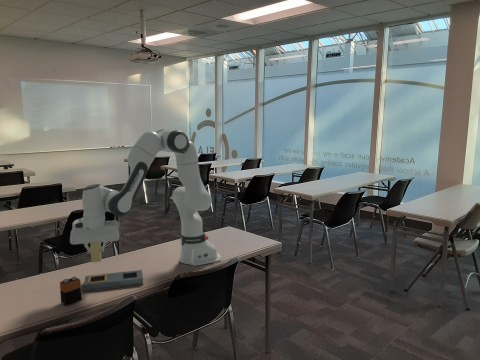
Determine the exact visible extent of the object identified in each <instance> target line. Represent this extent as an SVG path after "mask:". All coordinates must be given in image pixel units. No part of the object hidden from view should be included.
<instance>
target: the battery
mask: <svg viewBox="0 0 480 360" xmlns="http://www.w3.org/2000/svg"><path fill="white" fill-rule="evenodd" d="M81 282H82V281H81V279H80V278H78V277H77V276H73V277H71V278H65V279H62V281H59V289H60V290H59V291H60V292H59V293H60V302H61V304H63V305H64V306H66V305H67V306H69V305H71V304H75V303H77V302H80V301H82V298H83V297H82V286H81V285H82V284H81Z"/></svg>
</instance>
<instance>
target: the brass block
mask: <svg viewBox="0 0 480 360" xmlns="http://www.w3.org/2000/svg"><path fill="white" fill-rule="evenodd" d="M89 244H90V246H89V248H91V253H90V262H91V263H98V262H99V263H100V262H102V252H101V247H102V246H101V245H102V242H91V243H89Z"/></svg>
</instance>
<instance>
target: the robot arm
mask: <svg viewBox="0 0 480 360" xmlns="http://www.w3.org/2000/svg"><path fill="white" fill-rule="evenodd" d="M160 151H163V152H166V153H173V154H174V155H175V163H176V170H177V171H176V172H177V178H178V180H179V181H180V182H181V184H182V186H178V187H176V188H175V189H174V190H173V192H172V195H171V198H172V201H173V202H174V204H175V205H176V208H177V211H178V214H179V216H180V218H179V219H180V223H181V224H180V227H181V229H180V230H181V234H180V245H181V247H180V248H181V249H180V254H179V259H178V260H179V262H180V263H182V264H186V265H190V266H193V267H195V266H201V265H206V264H208V265H209V264H212V263H216V262H217V263H218V262H221V261H222V256H221V254H220V253H219V252H218V251H217V248H216V246H215V245H214V244H213V243H212V242H210V241H208V239H209V235H207V234H206V233H205V232H203V219H202V217H201V216H200V213H199V212H202V211H204V212H205V211H208V209H209V208H210V207H211V205H212V202H213V200H212V196H211V194H210V193H209V192H208V191H207V189H206V187H205V185H204V182H203V180H202V178H201V174H200V173H201V172H200V165H199V159H198V153H197V150H196V146H195V144H194V143H193V142H192V141H191V140H189V138H188V135H187V134H186V133H185V132H183V131H181V130H180V129H172V128H171V129H170V128H169V129H160V130H157V131H152V130H146V131H145V132H143V134H141V136H140V137H139V138H138V140H137V141H136V142H135V143H134V145H132V148H131V150H130V152H129V153H128V155H127V159H126V160H127V164H128V166H129V168H130V174H129V176H128V178H127V180H126V181H125V184H124V185H123V188H122V189H121V190H120V191H118V190H115V189H111V188H108V187H105V186H103V185H102V184H100V183H99V184H98V183H97V184H96V183H95V184H90V185H87V186H86V187H84V188H83V190H82V201H81V202H82V208H83V215H82V217H81V218H78V219H75V220H74V221H73V222H72V226H71V227H72V229H71V231H70V236H69V243H70V244H71V245H81V244H82V245H83V246H84V248H85V249H86V250H87V253H88V254H91V248H90V246H89V244H90V243H91V242H101V243H102V244H103V245H102V246H101V253H102V252H105V247H106V246H107V242H117V241H119V240H120V231H119V229H120V226H121V225H120V222H119V221H117V220H115V219H113V220H106V216H105V214H106V212H109V213H111V214H112V215H113V216H115V217H118V218H124V217H126V216H127V215H129V214H130V213H131V212H132V211H133V208H134V205H135V199H136V196H137V194H138V193H139V190H140V189H141V187H142V184H143V183H144V180H145V178H146V177H147V174H148V171H149V168H150V167H151V164H152V163H153V162H154V160H155V159H156V156H157V155H158V153H159V152H160Z"/></svg>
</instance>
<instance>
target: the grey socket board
mask: <svg viewBox="0 0 480 360" xmlns="http://www.w3.org/2000/svg"><path fill="white" fill-rule="evenodd" d="M141 285H144V276H143V269H138V270H128V271H120V272H119V271H118V272H111V273H99V274H93V275H85V277H84V281H83V292H84V293H85V292H92V291H100V290H102V291H103V290H108V289H110V290H111V289H117V288H124V287H133V286H141Z"/></svg>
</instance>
